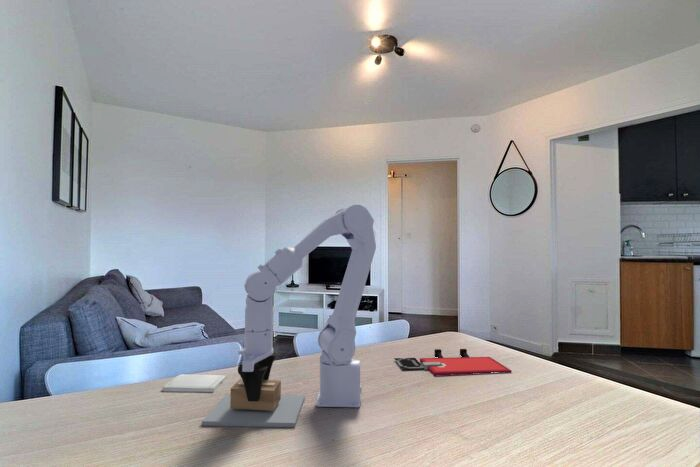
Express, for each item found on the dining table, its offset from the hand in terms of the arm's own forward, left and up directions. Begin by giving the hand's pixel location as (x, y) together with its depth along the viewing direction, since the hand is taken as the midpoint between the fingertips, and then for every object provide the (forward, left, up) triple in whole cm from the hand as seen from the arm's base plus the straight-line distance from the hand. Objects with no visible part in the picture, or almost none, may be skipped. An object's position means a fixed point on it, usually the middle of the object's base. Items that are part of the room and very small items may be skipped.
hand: (257, 394), depth 71 cm
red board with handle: (-48, -30, -4) cm, 56 cm away
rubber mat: (0, 0, -3) cm, 3 cm away
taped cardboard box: (0, 0, -2) cm, 2 cm away
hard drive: (+19, -13, -4) cm, 24 cm away
